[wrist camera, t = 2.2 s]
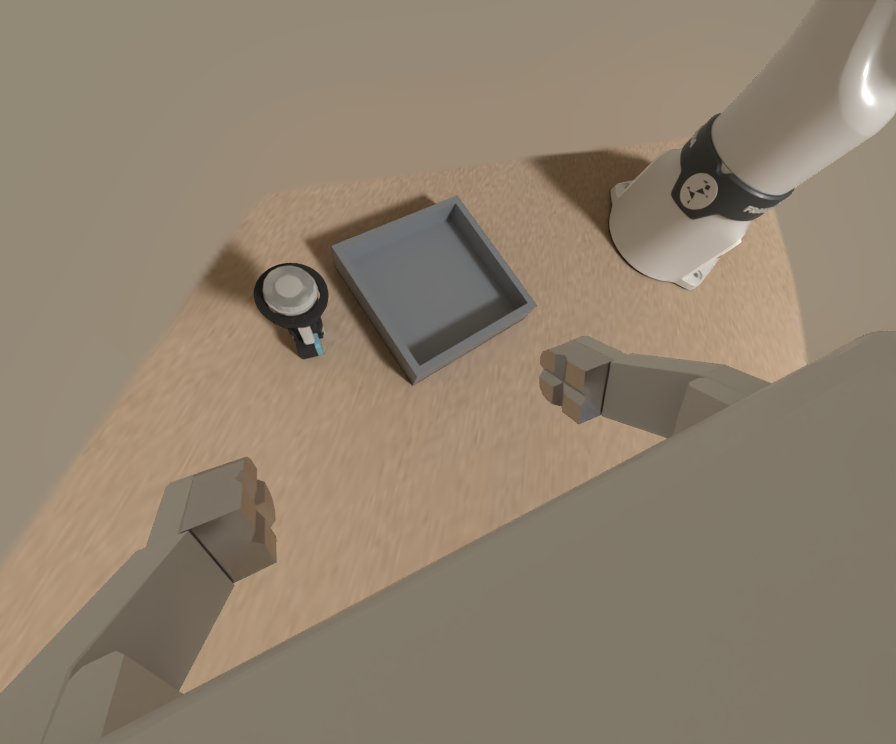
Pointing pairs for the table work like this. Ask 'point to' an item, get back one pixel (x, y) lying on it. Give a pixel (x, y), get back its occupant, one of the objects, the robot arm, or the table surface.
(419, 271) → the dock tray
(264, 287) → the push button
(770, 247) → the table surface
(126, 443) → the table surface
